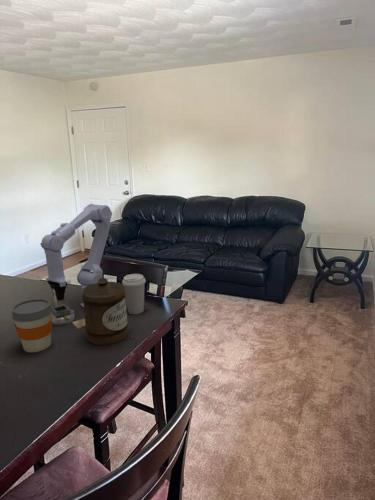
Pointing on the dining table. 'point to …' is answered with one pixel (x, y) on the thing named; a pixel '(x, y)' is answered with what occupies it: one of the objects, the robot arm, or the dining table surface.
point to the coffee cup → (134, 292)
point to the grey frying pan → (63, 319)
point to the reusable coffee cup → (33, 324)
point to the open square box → (61, 311)
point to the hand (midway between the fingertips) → (59, 298)
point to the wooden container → (105, 312)
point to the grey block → (57, 303)
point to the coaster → (79, 323)
